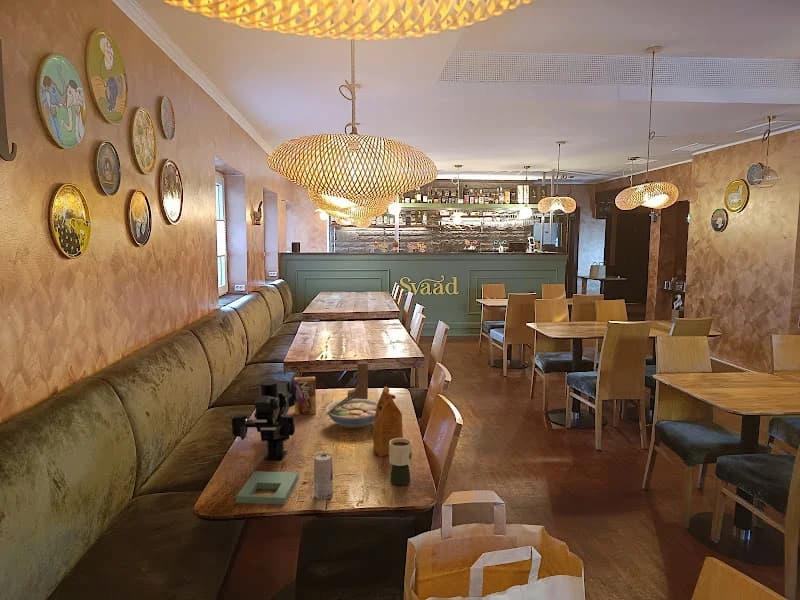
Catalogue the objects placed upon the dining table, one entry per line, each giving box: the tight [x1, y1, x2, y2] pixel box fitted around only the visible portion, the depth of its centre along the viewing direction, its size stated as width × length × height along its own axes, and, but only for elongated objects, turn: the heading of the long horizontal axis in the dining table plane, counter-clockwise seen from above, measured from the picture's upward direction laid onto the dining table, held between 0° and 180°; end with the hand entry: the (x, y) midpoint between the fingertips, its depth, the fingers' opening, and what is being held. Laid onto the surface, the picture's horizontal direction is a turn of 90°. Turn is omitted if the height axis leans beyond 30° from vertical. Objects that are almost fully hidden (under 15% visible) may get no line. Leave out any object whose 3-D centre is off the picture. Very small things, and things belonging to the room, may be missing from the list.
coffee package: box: [372, 385, 404, 457], centre depth 189 cm, size 10×12×22 cm
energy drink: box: [313, 452, 334, 501], centre depth 157 cm, size 5×5×12 cm
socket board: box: [235, 470, 299, 505], centre depth 161 cm, size 16×14×2 cm
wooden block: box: [347, 361, 369, 400], centre depth 243 cm, size 9×4×18 cm, turn 96°
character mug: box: [388, 437, 413, 485], centre depth 166 cm, size 11×7×13 cm, turn 10°
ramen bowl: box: [325, 394, 378, 430], centre depth 214 cm, size 25×23×8 cm
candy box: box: [293, 376, 317, 416], centre depth 228 cm, size 9×4×15 cm, turn 99°
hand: (257, 438), depth 158 cm, fingers open, 9 cm apart
